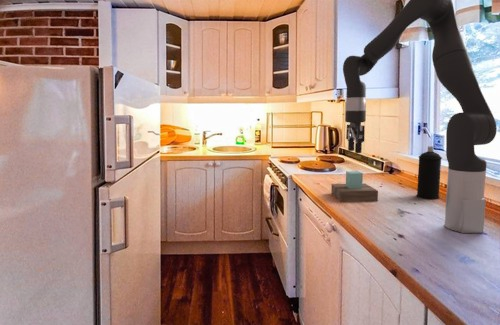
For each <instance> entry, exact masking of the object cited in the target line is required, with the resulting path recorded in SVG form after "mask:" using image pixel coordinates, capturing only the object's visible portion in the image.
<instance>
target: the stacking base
mask: <svg viewBox="0 0 500 325" xmlns="http://www.w3.org/2000/svg"><path fill="white" fill-rule="evenodd" d="M331 195H332V196H334V197H335V199H337V200H338V201H339V202H341V203H352V202H353V203H354V202H355V203H357V202H360V203H361V202H378V201H379V200H378V198H379V190H378V189H376V188H375V187H372V186H370V185H368V184H366V183H362V189H349V188H348V187H346V183H333V184H331Z"/></svg>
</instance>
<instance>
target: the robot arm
mask: <svg viewBox="0 0 500 325" xmlns="http://www.w3.org/2000/svg"><path fill="white" fill-rule="evenodd" d="M456 18H457V17H456V14H455V8H454V3H453V0H409V1H407V3H406V4H405V5H404V6H403V7H402V9H401V10H400V11H399V12H398V13H397V14H396V16H395V17H393V19H392V20H391V21H390V22H389V24H388V25H387V26H386V27H385V28H384V29H383V30H382V31H381V32H380V33H378V35H377V36H375V37H374V38H373V39H371V41H370V42H368V43H367V44H366V45H365V47H364V48H363V54H362V55H361V56H359V55H349V56H347V57H346V58H345V59H344V62H343V63H342V64H343V65H342V72H343V78H344V82H345V86H346V98H345V99H346V100H345V112H344V113H345V115H344V116H345V117H344V118H345V119H344V120H345V123H349V124H346V132H345V133H346V135H345V139H346V140H347V142H348V143H347V145H348V148H347V150H348V152H353V151H354V153H355V154H362V146H363V143H364V142H365V125H362V123H365V122H366V120H367V118H366V116H367V115H366V114H367V102H366V91H367V89H366V88H367V87H366V86H367V85H366V83H364V82H363V81H362V80H361V76H365V75H367V74H368V73H369V72H370V71H372V69H373V68H374V67H375V66H376V64H377V63H378V62H379V61H380V60H381V59H382V58H383V57H384V56H386V55H387V54H389V53H390V52H391V51H392V50H393V49H394V48H395V46H396V45H397V44H398V43H399V40H400V39H401V37H402V35H403V34H404V32H405V31H406V29H408V27H410V25H411V24H413V23H415V22H416V21H417V20H423V21H425V22H426V23H427V24H428V26H429V28H430V29H431V30H430V31H431V33H432V35H433V40H434V43H433V48H432V55H431V59H432V64H433V67H434V71H435V73H436V74H435V75H436V77H437V79H438V81H439V82H440V84H441V85H442V86H443V87H444V89H445V90H446V91H448V93H450V94H451V95H452V96H453V98H455V100H456V101H457V102H458V104H459V106H460V108H461V111H462V112H457V113H455V114H453V115H452V116H451V117H450V119H449V120H448V122H447V126H446V132H445V133H446V136H445V137H446V139H445V142H446V143H445V156H446V160H447V162H448V163H447V164H448V167H447V170H448V171H447V179H446V180H447V182H446V183H447V184H446V197H445V214H444V215H445V216H444V227H445V228H446V229H448V230H452V231H455V232H459V233H461V234H474V233H477V234H478V233H479V234H480V233H484V228H485V226H484V225H485V213H486V201H487V200H486V199H485V190H486V189H485V188H486V186H485V185H486V177H487V176H486V175H487V174H486V173H487V161H486V160H485V159H483V158H481V157H479V156H478V155H477V154H476V152H475V146H482V145H488V144H490V143H491V142H493V141H494V139H495V138H496V136H497V129H498V128H497V127H498V126H497V122H496V119H495V117H494V115H493V111H492V110H491V109H490V106H489V104H488V102H487V101H486V98H485V96H484V95H483V92H482V90H481V87H480V85H479V81H478V79H477V77H476V74H475V71H474V68H473V64H472V62H471V59H470V55H469V52H468V50H467V48H466V45H465V42H464V40H463V36H462V34H461V31H460V29H459V27H458V23H457V19H456Z"/></svg>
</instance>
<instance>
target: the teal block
mask: <svg viewBox="0 0 500 325" xmlns="http://www.w3.org/2000/svg"><path fill="white" fill-rule="evenodd" d="M363 177H364V176H363V172H361V171H359V170H356V171H353V170H352V171H348V170H347V171H346V172H345V184H346V187H348V188H349V189H362V184H363V179H364V178H363Z"/></svg>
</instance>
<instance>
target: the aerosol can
mask: <svg viewBox="0 0 500 325" xmlns="http://www.w3.org/2000/svg"><path fill="white" fill-rule="evenodd" d="M442 159H443V157H442V156H441V155H440V154H439V153H437V152H434V146H431V145H428V146H427V151H425V152H422V153H421V154H420V155H419V156H418V169H417V170H418V171H417V173H418V174H417V175H418V176H417V190H416V191H417V192H416V195H415V196H416V197H417V198H418V199H425V200H438V199H440V184H441V182H440V181H441V171H442V170H441V166H442Z"/></svg>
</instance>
